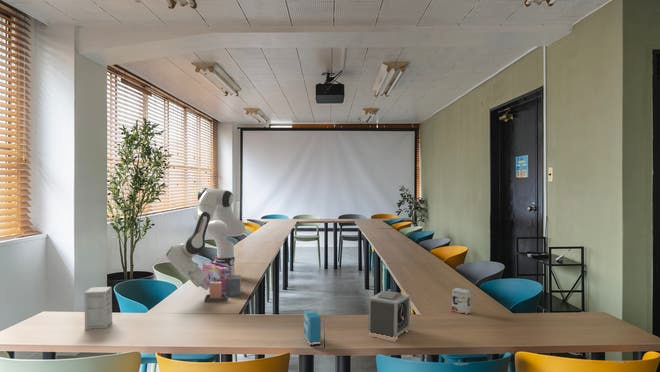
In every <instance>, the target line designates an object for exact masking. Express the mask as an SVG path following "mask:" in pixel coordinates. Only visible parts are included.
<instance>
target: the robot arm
mask: <svg viewBox="0 0 660 372" xmlns="http://www.w3.org/2000/svg"><path fill="white" fill-rule="evenodd" d="M233 203H234V194H233V193H232V191H229V190H225V189H222V188H213V187H212V188H210V187H209V188H208V187H202V188H200V190H198V193H197V203H196V206H195V208H194V215H193V217H194V220H196V224H195V228H194V230H193V233H192V235H190V236H189V237H188V239H187V240H186V241H185V242H183V243H180V244H179V243H178V244H175V245H174V244H173V245H172V246H171V247H170V248H169V249H168V250H167V252H166V254H165V258H166V259H167V260H168V262H170V264H171V265H172V266H173V267H175V268H177V270H178V271H179V272H180V274H182V275H183V276H184V277H185V278H187V279H189V281H190V282H191V283H192V284H193V285H194V286H195V287H196V288H199V287H201V288H202V289H204V290H205V291H207V290H209V287H208V286H209V285H210V282H209V281H208V280H207V279H206V278H205V277H206V274H205V273H204V271H203V268H201V267H200V266H199V265H200V264H198V263H197V262H195V261H194V260H193V258H195V257H196V256H198V255H200V253H202V252H203V251H204V250H205V248H206V241H205V240H206V239H205V238H206V237H205V236H206V234H208V236H210V237H211V238H212V239H213V240H214V242H215V245H216V255H217V256H216V257H215V262H214V263H218V264H221V265H224V266H228V267H231V275H237V273H236V266H235V259H236V258H235V246H234V244H233V243H232V242H231V241H229V240H227V239H226V237H238V236H243V234H244V233H245V231H246V225H245V223H244V222H243V221H242V220H240V219H238V218H237V217H236V216H235V213H234V212H233V209H232V208H233V207H232V205H233ZM214 214H215V215H214ZM213 216H215V217H216V219H215V220H212V219H213ZM203 282H205V283H206V285H205V284H204V283H203Z"/></svg>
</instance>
